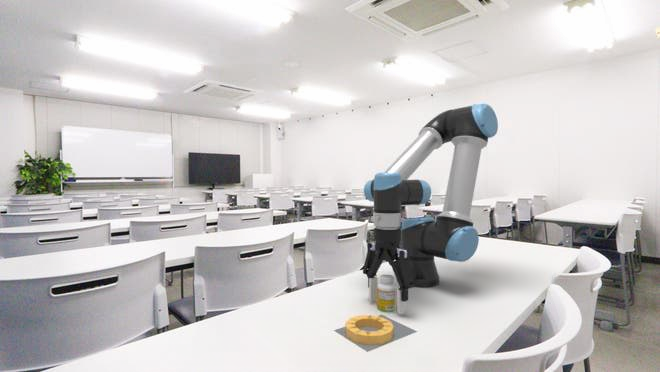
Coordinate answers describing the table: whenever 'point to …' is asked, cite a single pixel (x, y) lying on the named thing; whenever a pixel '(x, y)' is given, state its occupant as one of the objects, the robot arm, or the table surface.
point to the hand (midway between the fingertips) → (386, 305)
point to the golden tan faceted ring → (371, 336)
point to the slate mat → (399, 329)
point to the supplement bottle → (386, 294)
